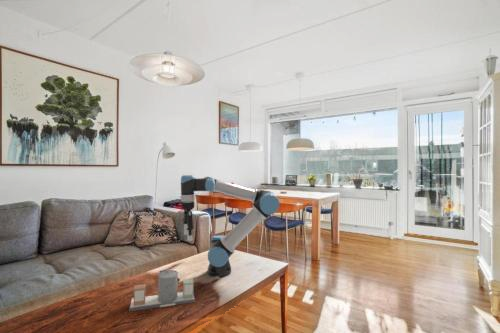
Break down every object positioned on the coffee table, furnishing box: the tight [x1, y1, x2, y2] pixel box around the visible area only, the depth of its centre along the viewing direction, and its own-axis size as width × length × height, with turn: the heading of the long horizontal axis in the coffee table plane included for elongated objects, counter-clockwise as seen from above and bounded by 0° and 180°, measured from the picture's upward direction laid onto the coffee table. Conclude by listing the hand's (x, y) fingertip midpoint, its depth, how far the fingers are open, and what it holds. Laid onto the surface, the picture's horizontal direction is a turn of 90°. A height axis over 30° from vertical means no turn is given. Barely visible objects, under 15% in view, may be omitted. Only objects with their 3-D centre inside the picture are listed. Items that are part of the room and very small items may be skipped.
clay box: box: [133, 283, 147, 306], centre depth 127 cm, size 5×4×8 cm
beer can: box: [157, 269, 179, 303], centre depth 132 cm, size 10×10×12 cm
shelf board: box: [128, 291, 196, 312], centre depth 130 cm, size 30×12×2 cm, turn 108°
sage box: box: [182, 278, 195, 299], centre depth 134 cm, size 5×4×8 cm
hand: (188, 237), depth 153 cm, fingers open, 13 cm apart
